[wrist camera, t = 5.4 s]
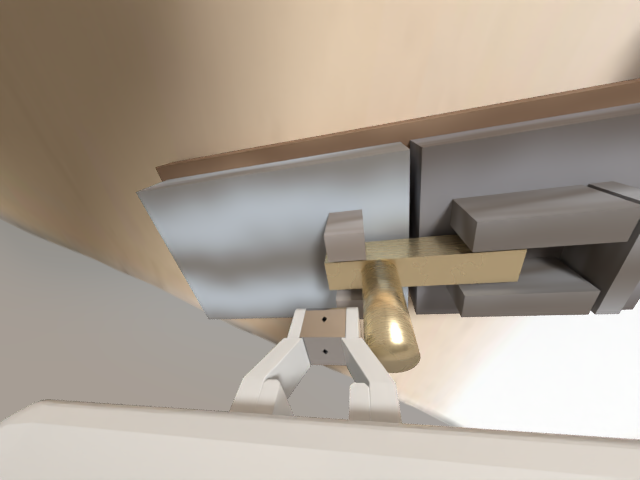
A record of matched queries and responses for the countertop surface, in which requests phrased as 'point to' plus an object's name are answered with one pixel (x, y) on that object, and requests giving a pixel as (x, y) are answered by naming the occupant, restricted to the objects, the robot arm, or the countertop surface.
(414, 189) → the sliding barrel latch
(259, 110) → the countertop surface
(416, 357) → the bolt
